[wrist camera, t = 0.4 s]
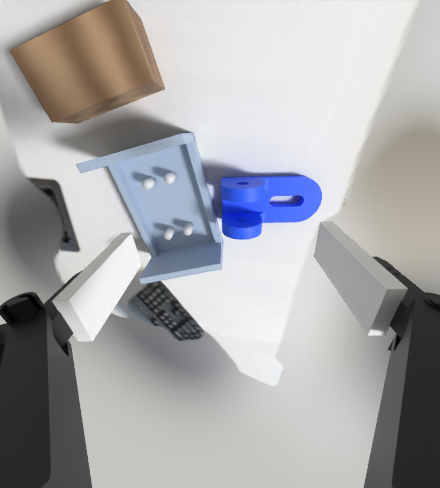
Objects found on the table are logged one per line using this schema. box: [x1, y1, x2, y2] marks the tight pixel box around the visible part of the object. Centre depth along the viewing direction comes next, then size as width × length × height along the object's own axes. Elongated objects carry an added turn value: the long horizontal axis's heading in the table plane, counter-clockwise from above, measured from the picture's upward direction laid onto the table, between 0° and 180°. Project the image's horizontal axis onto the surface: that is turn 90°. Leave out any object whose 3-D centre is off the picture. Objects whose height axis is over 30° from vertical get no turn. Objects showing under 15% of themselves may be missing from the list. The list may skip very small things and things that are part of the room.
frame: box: [76, 133, 223, 284], centre depth 36 cm, size 21×15×10 cm
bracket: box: [221, 175, 322, 239], centre depth 35 cm, size 18×8×9 cm, turn 92°
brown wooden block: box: [10, 0, 165, 123], centre depth 29 cm, size 16×8×6 cm, turn 107°
